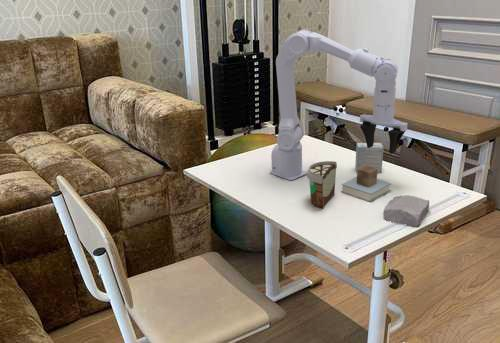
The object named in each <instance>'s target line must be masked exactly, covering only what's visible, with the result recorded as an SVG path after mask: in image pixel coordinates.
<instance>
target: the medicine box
mask: <svg viewBox="0 0 500 343" xmlns="http://www.w3.org/2000/svg"><path fill="white" fill-rule="evenodd" d="M355 147H356V148H355V162H354V163H355V171H356V173H357V169H359V168H361V167H363V166H365V165H366V166H370V167H373V168H377V174H378V173H379V174H380V173H382V172H383V158H384V146H383V144H382V142H374V144H373V147H370V148H367V144H366V142H356V145H355Z"/></svg>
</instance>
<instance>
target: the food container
mask: <svg viewBox="0 0 500 343" xmlns="http://www.w3.org/2000/svg"><path fill="white" fill-rule="evenodd" d="M337 165H338V164H337V161H334V160H333V161H332V160H325V161H319V162H315V163H313V164H310V166H309V167H308V169H307V171H306V172H307V174H306V177H307V179H308V180H309V189H310V190H309V191H310V203H311V205H312V206H313V207H315V208H318V209H322V210H324V209H325V208H326V206H327V205H328V204H329V203H330V202H331V201H332V199H333V198H334V197H335V192H336V179H337V178H336V176H337V168H338V166H337Z"/></svg>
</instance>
